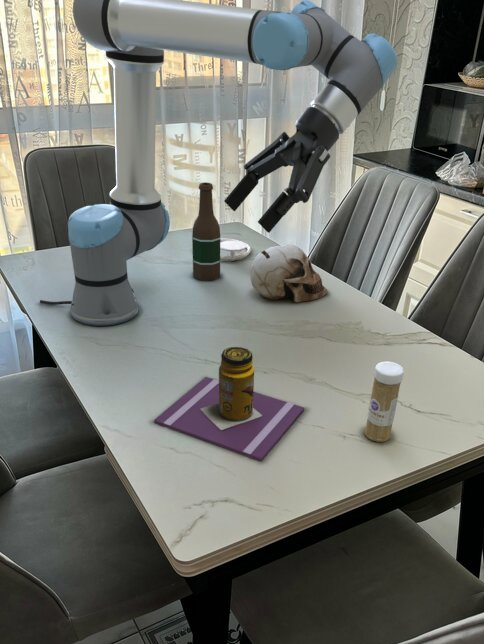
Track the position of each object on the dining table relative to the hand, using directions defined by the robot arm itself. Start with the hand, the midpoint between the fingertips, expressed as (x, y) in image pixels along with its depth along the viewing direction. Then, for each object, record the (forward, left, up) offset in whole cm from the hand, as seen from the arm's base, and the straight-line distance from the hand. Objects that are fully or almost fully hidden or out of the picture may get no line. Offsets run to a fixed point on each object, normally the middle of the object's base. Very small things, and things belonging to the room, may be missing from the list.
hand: (245, 216), depth 107 cm
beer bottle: (-31, +36, -30) cm, 56 cm away
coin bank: (-7, +37, -30) cm, 48 cm away
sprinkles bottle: (+32, -10, -30) cm, 45 cm away
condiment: (+8, -18, -29) cm, 35 cm away
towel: (+8, -18, -30) cm, 36 cm away
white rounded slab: (-36, +54, -30) cm, 71 cm away
